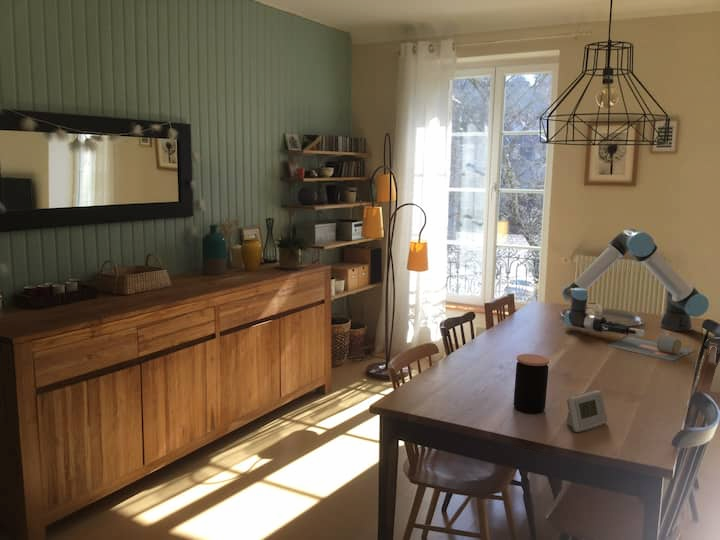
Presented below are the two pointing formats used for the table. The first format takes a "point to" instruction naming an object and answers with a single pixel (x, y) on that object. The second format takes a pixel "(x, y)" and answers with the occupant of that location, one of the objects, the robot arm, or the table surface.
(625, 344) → the t mat
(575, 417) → the digital clock
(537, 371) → the coffee jar
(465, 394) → the table surface
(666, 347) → the ceramic mug
